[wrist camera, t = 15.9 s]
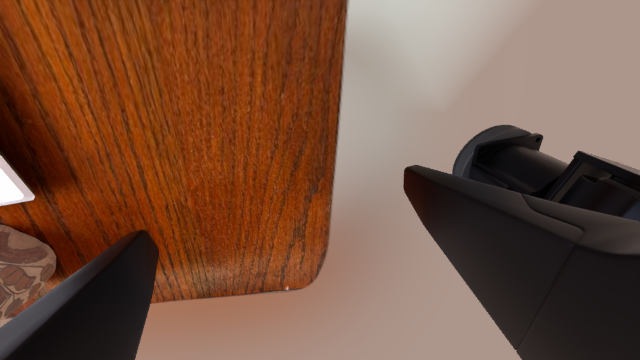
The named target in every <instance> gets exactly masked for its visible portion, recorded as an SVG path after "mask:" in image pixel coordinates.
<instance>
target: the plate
mask: <svg viewBox="0 0 640 360" xmlns="http://www.w3.org/2000/svg"><path fill="white" fill-rule="evenodd" d="M34 198H35V194H34V191H33V189H32V188H31V187H30V186H29V185H28V183H27V182H26V181H25V180H24V179H23V177H22V176H21V175H20V174H19V173H18V171H17V170H16V169H15V168H14V167H13V165H12V164H11V163H10V162H9V161H8V159H7V158H6V157H5V156H4V155H3V153H2V152H1V151H0V206H3V205H8V204H14V203H19V202H25V201H31V200H34Z"/></svg>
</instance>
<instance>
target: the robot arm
mask: <svg viewBox="0 0 640 360" xmlns="http://www.w3.org/2000/svg"><path fill="white" fill-rule="evenodd" d="M542 140H543V136H542V135H541V134H538V133H535V134H529V135H524V136H518V137H513V138H507V139H502V140H496V141H491V142H485V143H480V144H478V145H477V146H476V147H475V149H474V154H473V159H472V164H471V168H470V173H469V178H468V179H466V178H463V177H459V176H455V175H452V174H448V173H444V172H441V171H437V170H433V169H430V168H426V167H422V166H419V165H413V166H409V167H406V168H405V170H404V191H405V193H406V195H407V197H408V199H409V201H410V202H411V204H412V206H413V208H414V209H415V211H416V213H417V215H418V216H419V218H420V220H421V221H422V223H423V225H424V226H425V228H426V229H427V230H428V232H429V233H430V234H431V236H432V237H433V239H434V240H435V241H436V243H437V244H438V245H439V247H440V248H441V250H442V251H443V252H444V254H445V255H446V256H447V258H448V259H449V260H450V262H451V263H452V265H453V266H454V267H455V269H456V270H457V271H458V273H459V274H460V275H461V277H462V278H463V280H464V281H465V282H466V284H467V285H468V286H469V288H470V289H471V290H472V292H473V293H474V294H475V296H476V297H477V299H478V300H479V301H480V302H481V304H482V305H483V307H484V308H485V309H486V311H487V312H488V314H489V315H490V316H491V317H492V319H493V320H494V322H495V323H496V325H497V326H498V327H499V329H500V330H501V331H502V333H503V334H504V335H505V337H506V338H507V340H508V341H509V342H510V344H511V345H512V346H513V348H514V349H515V350H517V351H516V352H517V354H518V355H519V356H520V358H521V359H522V360H640V170H637V169H634V168H632V167H629V166H626V165H623V164H620V163H618V162H614V161H611V160H608V159H605V158H601V157H598V156H595V155H592V154H588V153H585V152H582V151H577V153H576V154H575V155H574V156H573V157H574V159H573V160H572V161H571V163H570V164H567V163H565V162H562V161H560V160H558V159H555V158H553V157H551V156H549V155H546V154H544V153H542V152H539V148H540V146H541V143H542ZM481 148H482V149H481ZM480 149H481V150H480ZM158 256H159V250H158V247H157V245H156V244H155V242H154V241H153V239H152V238H151V237H150V235H149V234H148V232H147V231H145V230H139V231H134V232H131V233H129V234H127V235H126V236H124V237H123V238H122V239H120V240H119V241H118V242H116V243H115V244H114V245H112V246H111V247H109V248H108V249H107V250H105V251H104V252H103V253H101V254H100V255H99V256H97V257H96V258H94V259H93V260H92V261H90V262H89V263H88V264H86V265H85V266H84V267H82V268H81V269H80V270H78V271H77V272H75V273H74V274H73V275H71V276H70V277H69V278H67V279H66V280H65V281H63V282H62V283H60V284H59V285H58V286H56V287H55V288H54V289H52V290H51V291H50V292H48V293H47V294H46V295H44V296H43V297H41V298H40V299H39V300H37V301H36V302H35V303H33V304H32V305H31V306H29V307H28V308H26V309H25V310H24V311H22V312H21V313H20V314H18V315H17V316H16V317H14V318H13V319H11V320H10V321H9V322H7V323H6V324H5V325H3V326H2V327H1V328H0V360H135V358H136V354H137V350H138V346H139V343H140V339H141V335H142V332H143V328H144V325H145V321H146V318H147V314H148V310H149V306H150V303H151V299H152V294H153V289H154V282H155V276H156V269H157V263H158Z"/></svg>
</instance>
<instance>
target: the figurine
mask: <svg viewBox="0 0 640 360" xmlns="http://www.w3.org/2000/svg"><path fill="white" fill-rule="evenodd" d="M55 269H56V256H55V253H54V252H53V250H52V249H51V248H50V247H49V246H48V245H47V244H45V243H43V242H41V241H39V240H38V239H36V238H35V237H32V236H30V235H27V234H25V233H22V232H19V231H17V230H15V229H13V228H11V227H9V226H6V225H0V322H1V321H2V320H3V319H5V318H6V317H7V316H9V315H10V314H11V313H13V312H14V311H15V310H16V309H18V308H19V307H20V306H21V305H22V304H24V303H25V302H26V301H27V300H28V299H30V298H31V297H32V296H33V295H34V294H36V293H37V292H38V291H39V290H40V289H41V288H42V287H43V286H44V285H45V284H46V282H47V281H48V280H49V278H50V277H51V276H52V275H53V273H54V271H55Z"/></svg>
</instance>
